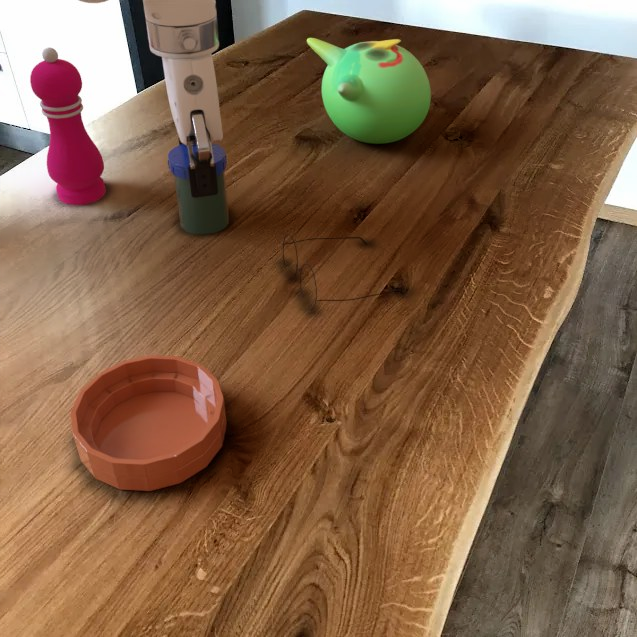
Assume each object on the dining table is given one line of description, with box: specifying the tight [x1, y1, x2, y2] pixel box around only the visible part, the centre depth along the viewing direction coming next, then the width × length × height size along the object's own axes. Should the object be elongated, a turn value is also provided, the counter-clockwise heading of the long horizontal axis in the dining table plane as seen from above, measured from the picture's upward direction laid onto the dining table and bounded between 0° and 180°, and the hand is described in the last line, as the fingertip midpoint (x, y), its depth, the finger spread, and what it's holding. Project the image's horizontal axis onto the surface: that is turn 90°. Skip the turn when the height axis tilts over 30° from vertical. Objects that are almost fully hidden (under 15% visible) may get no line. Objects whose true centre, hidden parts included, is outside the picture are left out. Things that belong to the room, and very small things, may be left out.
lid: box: [167, 142, 228, 180], centre depth 89 cm, size 7×7×2 cm
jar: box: [173, 170, 230, 235], centre depth 91 cm, size 6×6×9 cm
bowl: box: [69, 354, 228, 492], centre depth 65 cm, size 13×13×4 cm
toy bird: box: [306, 37, 432, 145], centre depth 109 cm, size 18×17×15 cm
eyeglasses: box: [281, 234, 405, 310], centre depth 83 cm, size 11×13×5 cm
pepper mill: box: [29, 47, 107, 206], centre depth 93 cm, size 7×7×20 cm
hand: (199, 179), depth 90 cm, fingers closed on lid, 6 cm apart
